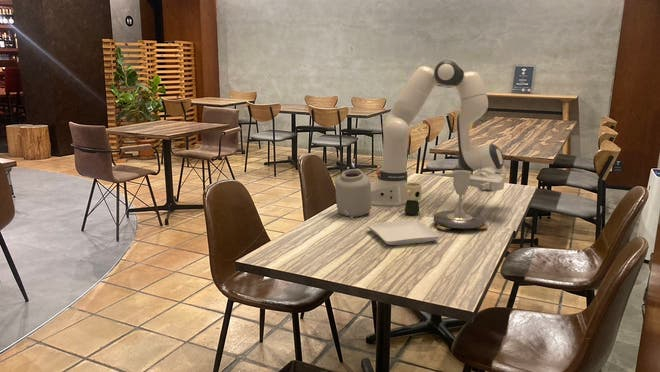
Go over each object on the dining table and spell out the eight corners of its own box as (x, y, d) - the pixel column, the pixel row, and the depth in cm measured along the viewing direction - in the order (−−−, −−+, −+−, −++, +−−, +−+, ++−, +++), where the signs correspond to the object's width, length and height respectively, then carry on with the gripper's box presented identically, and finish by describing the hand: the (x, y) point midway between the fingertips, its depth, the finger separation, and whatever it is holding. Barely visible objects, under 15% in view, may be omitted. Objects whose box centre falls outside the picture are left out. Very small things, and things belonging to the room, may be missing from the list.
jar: (361, 222, 223) (362, 161, 217) (328, 218, 228) (327, 159, 223) (375, 210, 240) (376, 154, 234) (343, 207, 245) (344, 151, 240)
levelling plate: (440, 234, 208) (441, 224, 208) (427, 218, 229) (427, 209, 228) (492, 233, 210) (493, 223, 209) (474, 217, 230) (475, 208, 229)
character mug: (414, 218, 229) (415, 187, 226) (398, 215, 233) (399, 185, 230) (424, 212, 238) (425, 182, 235) (409, 209, 242) (410, 180, 239)
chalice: (467, 214, 221) (470, 170, 217) (470, 219, 214) (472, 173, 210) (449, 213, 222) (451, 169, 218) (450, 218, 215) (453, 173, 211)
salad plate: (386, 249, 193) (386, 240, 192) (365, 231, 213) (366, 223, 212) (441, 244, 199) (441, 235, 198) (416, 227, 218) (417, 218, 218)
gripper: (461, 168, 238) (447, 174, 228) (508, 174, 226) (495, 180, 215) (461, 183, 240) (446, 188, 229) (507, 189, 227) (493, 196, 217)
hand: (470, 185), depth 222 cm, fingers open, 8 cm apart
